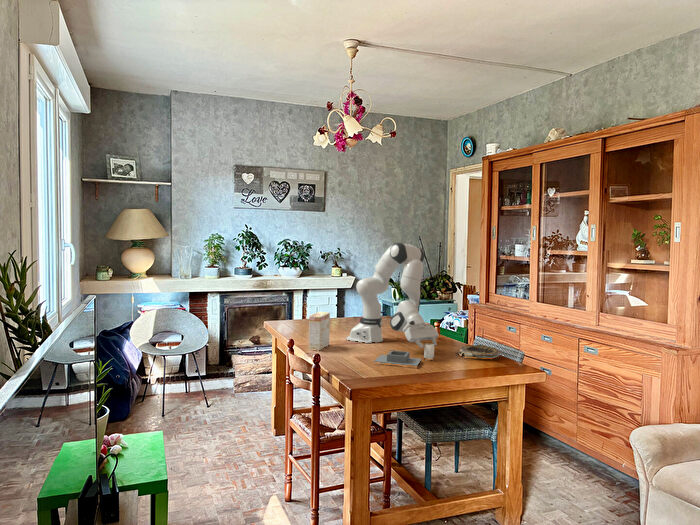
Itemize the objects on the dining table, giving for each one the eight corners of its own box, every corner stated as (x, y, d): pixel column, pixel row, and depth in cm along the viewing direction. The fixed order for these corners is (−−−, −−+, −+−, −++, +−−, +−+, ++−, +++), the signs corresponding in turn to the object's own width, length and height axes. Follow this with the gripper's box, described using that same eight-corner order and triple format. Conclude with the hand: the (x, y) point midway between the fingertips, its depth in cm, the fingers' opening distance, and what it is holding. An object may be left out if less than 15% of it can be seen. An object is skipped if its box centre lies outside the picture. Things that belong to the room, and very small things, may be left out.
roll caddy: (374, 364, 263) (374, 354, 263) (380, 357, 276) (380, 348, 276) (417, 368, 257) (417, 358, 256) (421, 361, 270) (421, 352, 270)
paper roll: (423, 360, 273) (423, 345, 272) (424, 357, 278) (425, 343, 277) (433, 361, 272) (433, 346, 271) (434, 358, 276) (435, 343, 276)
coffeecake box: (318, 344, 303) (319, 311, 302) (329, 345, 301) (330, 312, 299) (308, 350, 289) (308, 315, 288) (319, 351, 287) (320, 316, 285)
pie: (476, 348, 304) (477, 340, 303) (517, 359, 282) (517, 350, 282) (444, 355, 286) (445, 346, 286) (485, 367, 265) (486, 357, 265)
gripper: (428, 326, 290) (439, 347, 283) (400, 330, 278) (411, 351, 271) (433, 320, 286) (445, 341, 279) (405, 323, 274) (417, 344, 267)
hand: (428, 346), depth 275 cm, fingers open, 8 cm apart
